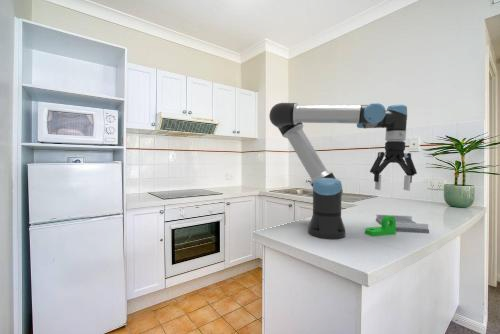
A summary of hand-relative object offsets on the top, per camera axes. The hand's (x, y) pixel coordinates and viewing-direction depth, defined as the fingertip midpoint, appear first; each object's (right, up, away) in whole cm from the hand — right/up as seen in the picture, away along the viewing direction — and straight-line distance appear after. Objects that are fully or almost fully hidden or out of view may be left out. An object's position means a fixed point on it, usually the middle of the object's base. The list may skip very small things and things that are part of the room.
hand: (392, 189), depth 103 cm
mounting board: (+10, -18, +10) cm, 23 cm away
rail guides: (+10, -17, +10) cm, 22 cm away
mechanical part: (-7, -19, -1) cm, 20 cm away
